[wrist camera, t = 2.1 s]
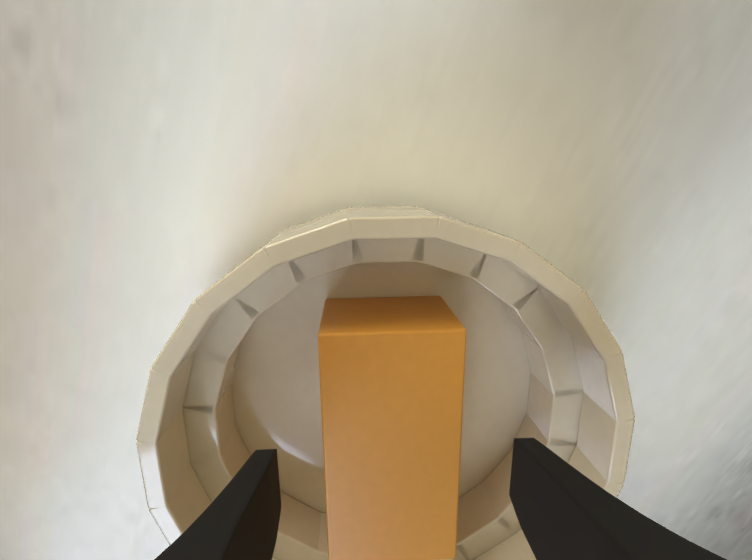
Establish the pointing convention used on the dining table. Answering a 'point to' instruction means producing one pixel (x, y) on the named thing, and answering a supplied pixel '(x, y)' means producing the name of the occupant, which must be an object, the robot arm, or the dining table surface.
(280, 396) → the bowl
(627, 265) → the dining table surface
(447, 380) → the orange rectangular block
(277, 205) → the dining table surface
